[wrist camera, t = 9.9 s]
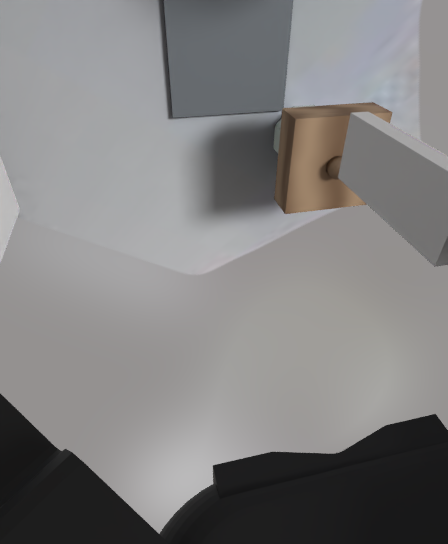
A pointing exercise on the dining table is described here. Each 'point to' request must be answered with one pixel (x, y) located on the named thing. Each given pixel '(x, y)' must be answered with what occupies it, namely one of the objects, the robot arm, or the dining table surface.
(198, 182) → the dining table surface
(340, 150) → the lid
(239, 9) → the mat
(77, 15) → the dining table surface
